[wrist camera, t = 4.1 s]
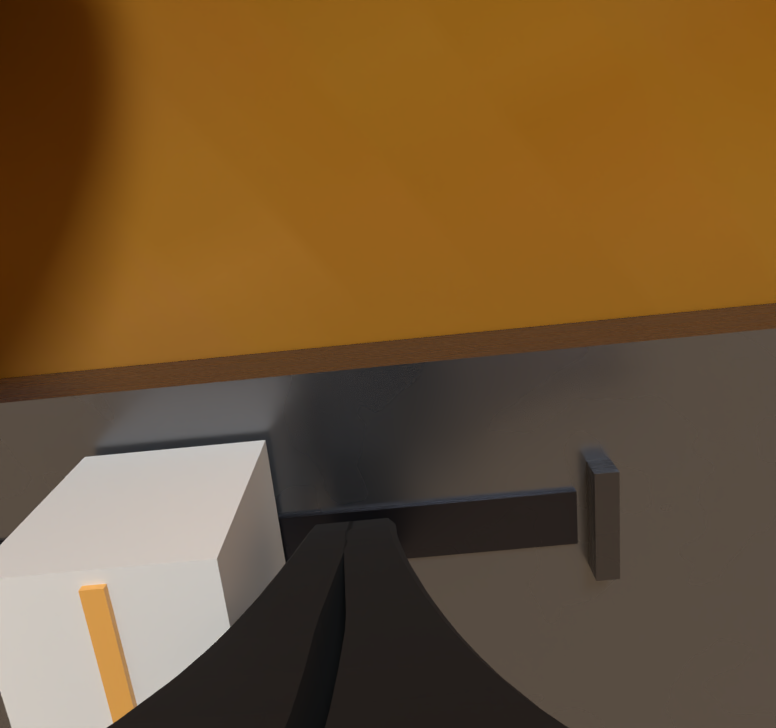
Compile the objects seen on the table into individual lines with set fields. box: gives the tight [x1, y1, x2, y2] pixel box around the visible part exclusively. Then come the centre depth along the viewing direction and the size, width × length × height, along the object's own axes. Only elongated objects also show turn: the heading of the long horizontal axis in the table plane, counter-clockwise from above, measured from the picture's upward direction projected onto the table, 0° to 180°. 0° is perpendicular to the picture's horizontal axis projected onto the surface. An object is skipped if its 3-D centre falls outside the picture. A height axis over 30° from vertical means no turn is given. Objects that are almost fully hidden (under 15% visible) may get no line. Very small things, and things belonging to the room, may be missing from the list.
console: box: [0, 303, 776, 728], centre depth 14 cm, size 20×13×2 cm, turn 96°
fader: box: [0, 440, 285, 728], centre depth 11 cm, size 3×4×4 cm
